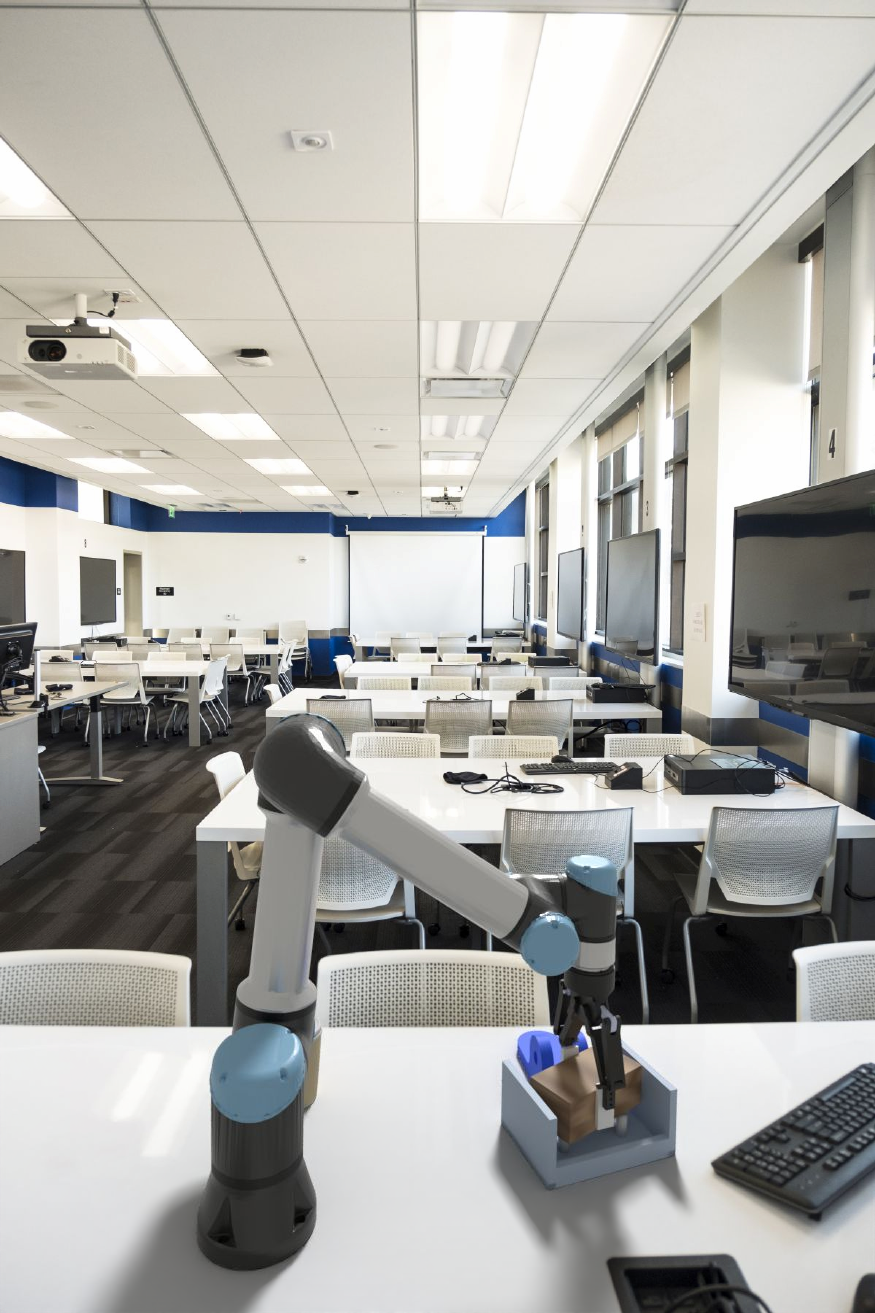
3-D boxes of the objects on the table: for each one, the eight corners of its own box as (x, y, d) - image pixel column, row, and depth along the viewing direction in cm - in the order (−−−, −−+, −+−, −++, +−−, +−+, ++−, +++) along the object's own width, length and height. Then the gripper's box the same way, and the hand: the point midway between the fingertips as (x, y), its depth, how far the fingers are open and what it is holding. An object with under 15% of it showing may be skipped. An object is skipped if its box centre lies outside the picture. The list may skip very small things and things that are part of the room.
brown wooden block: (600, 1078, 126) (601, 1042, 125) (640, 1103, 119) (641, 1065, 119) (529, 1116, 116) (530, 1076, 115) (569, 1145, 109) (570, 1104, 109)
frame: (548, 1190, 107) (549, 1120, 106) (501, 1123, 121) (502, 1060, 121) (675, 1155, 114) (677, 1089, 114) (616, 1095, 129) (618, 1036, 128)
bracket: (589, 1098, 128) (590, 1045, 128) (541, 1102, 127) (542, 1049, 126) (554, 1039, 146) (555, 993, 145) (512, 1043, 144) (512, 996, 144)
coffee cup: (327, 1082, 131) (328, 1012, 131) (313, 1117, 122) (314, 1042, 121) (274, 1078, 132) (274, 1009, 132) (256, 1112, 123) (256, 1038, 122)
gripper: (655, 990, 107) (650, 1147, 108) (573, 930, 128) (570, 1062, 129) (609, 999, 105) (604, 1159, 106) (533, 936, 125) (530, 1071, 126)
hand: (585, 1106), depth 117 cm, fingers open, 9 cm apart
